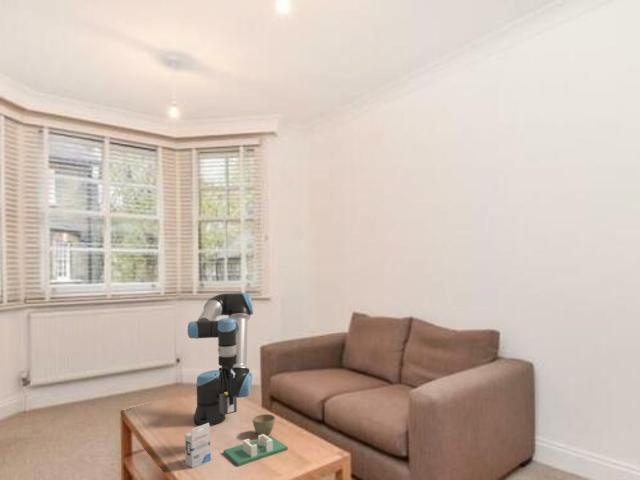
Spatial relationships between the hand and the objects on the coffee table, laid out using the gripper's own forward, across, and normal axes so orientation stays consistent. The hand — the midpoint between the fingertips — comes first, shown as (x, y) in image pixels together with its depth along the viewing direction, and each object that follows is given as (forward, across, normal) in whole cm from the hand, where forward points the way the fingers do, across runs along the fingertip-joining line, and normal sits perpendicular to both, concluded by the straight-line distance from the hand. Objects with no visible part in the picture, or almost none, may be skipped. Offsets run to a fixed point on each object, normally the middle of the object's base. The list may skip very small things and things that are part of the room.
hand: (228, 410), depth 183 cm
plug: (+1, 0, 0) cm, 1 cm away
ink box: (+15, +7, -16) cm, 23 cm away
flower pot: (+15, 0, +17) cm, 22 cm away
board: (+15, +13, +6) cm, 20 cm away
